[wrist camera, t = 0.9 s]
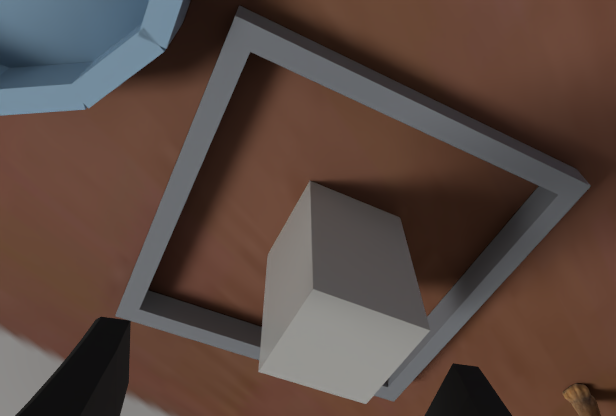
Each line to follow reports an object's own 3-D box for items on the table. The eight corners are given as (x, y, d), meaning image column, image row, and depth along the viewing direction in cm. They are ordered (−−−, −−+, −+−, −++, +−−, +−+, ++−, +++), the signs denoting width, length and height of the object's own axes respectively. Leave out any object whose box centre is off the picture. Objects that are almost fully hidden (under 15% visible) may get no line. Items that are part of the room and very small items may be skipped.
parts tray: (576, 169, 20) (591, 185, 19) (390, 381, 27) (393, 401, 26) (239, 5, 17) (235, 15, 16) (123, 296, 24) (115, 316, 23)
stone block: (400, 217, 21) (430, 330, 16) (352, 285, 23) (365, 404, 18) (309, 180, 20) (313, 288, 15) (267, 254, 22) (258, 371, 17)
